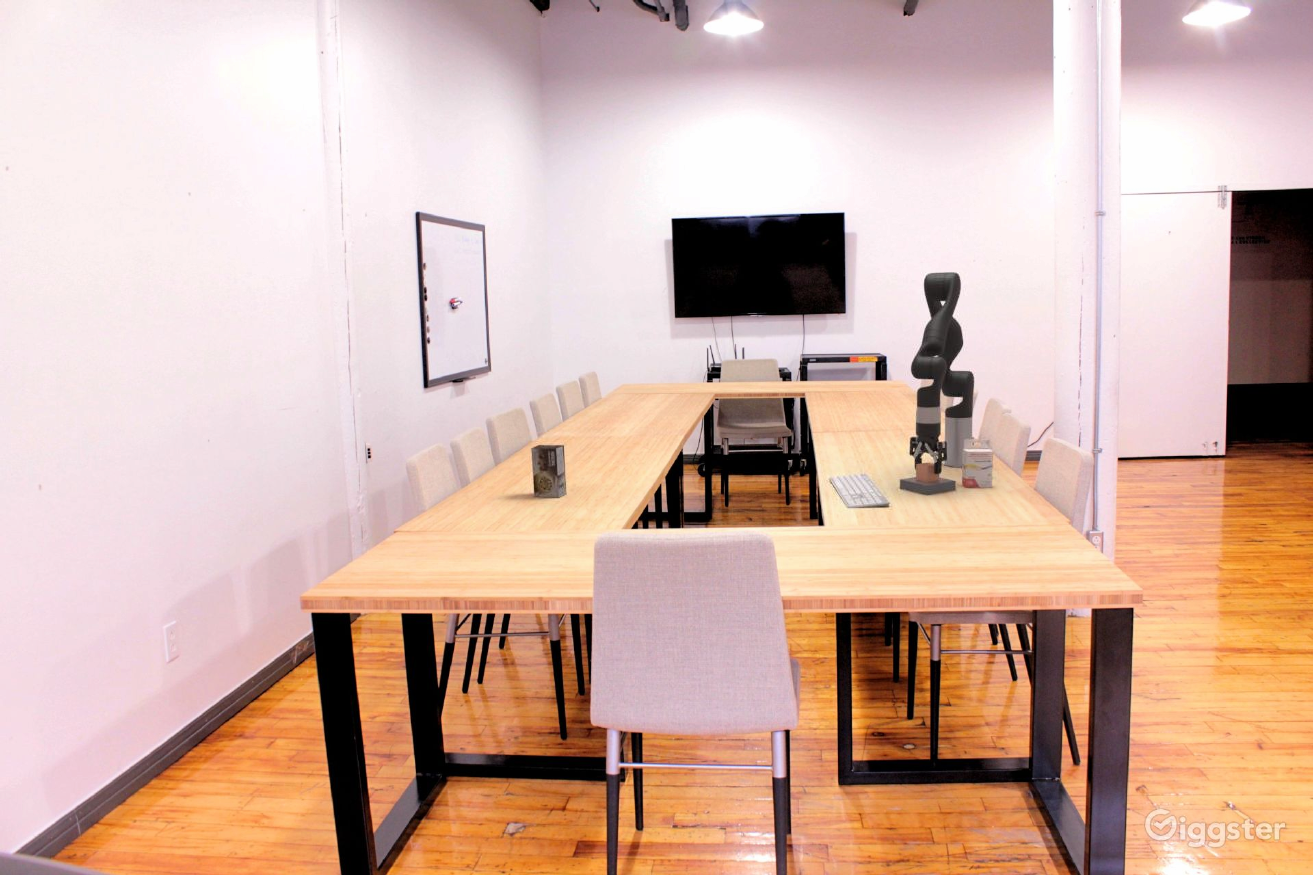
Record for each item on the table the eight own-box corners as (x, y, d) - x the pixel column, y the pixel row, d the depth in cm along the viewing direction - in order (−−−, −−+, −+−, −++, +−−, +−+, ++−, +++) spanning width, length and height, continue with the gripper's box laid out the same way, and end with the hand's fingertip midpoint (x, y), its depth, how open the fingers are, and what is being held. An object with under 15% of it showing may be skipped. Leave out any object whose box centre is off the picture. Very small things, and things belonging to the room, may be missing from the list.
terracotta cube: (928, 477, 321) (928, 462, 321) (939, 480, 317) (939, 464, 316) (916, 479, 319) (916, 464, 318) (927, 482, 315) (927, 466, 314)
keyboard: (828, 480, 340) (828, 473, 340) (865, 479, 340) (866, 472, 339) (847, 510, 297) (847, 502, 296) (890, 509, 296) (890, 501, 296)
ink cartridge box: (964, 487, 319) (965, 441, 317) (961, 484, 324) (962, 439, 322) (992, 487, 319) (993, 441, 316) (989, 484, 323) (990, 438, 321)
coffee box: (567, 493, 329) (565, 444, 326) (559, 498, 323) (556, 448, 320) (541, 492, 332) (539, 444, 329) (533, 496, 326) (530, 447, 323)
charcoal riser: (928, 484, 327) (928, 474, 326) (955, 490, 316) (955, 480, 316) (899, 488, 321) (899, 479, 321) (926, 495, 311) (926, 485, 310)
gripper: (953, 422, 311) (953, 474, 313) (921, 417, 323) (921, 467, 326) (935, 424, 307) (934, 476, 310) (903, 419, 320) (903, 469, 322)
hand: (927, 471), depth 318 cm, fingers open, 8 cm apart
